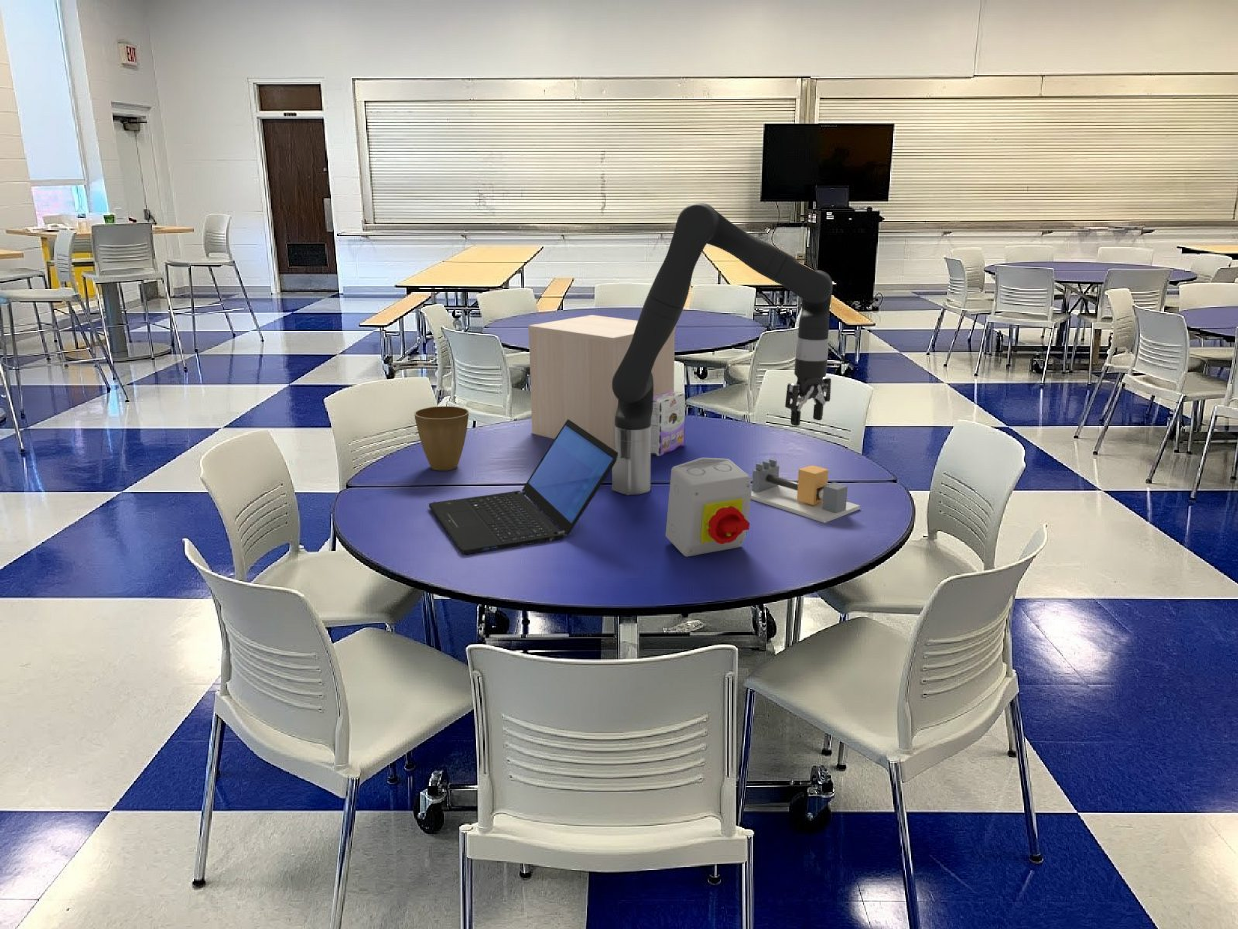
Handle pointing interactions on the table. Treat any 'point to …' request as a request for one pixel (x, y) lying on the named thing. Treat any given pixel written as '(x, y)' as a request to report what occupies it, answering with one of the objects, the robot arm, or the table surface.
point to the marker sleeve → (811, 483)
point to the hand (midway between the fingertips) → (806, 422)
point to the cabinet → (584, 373)
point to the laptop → (533, 498)
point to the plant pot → (442, 435)
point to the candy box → (667, 422)
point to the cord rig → (785, 495)
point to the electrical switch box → (708, 506)
